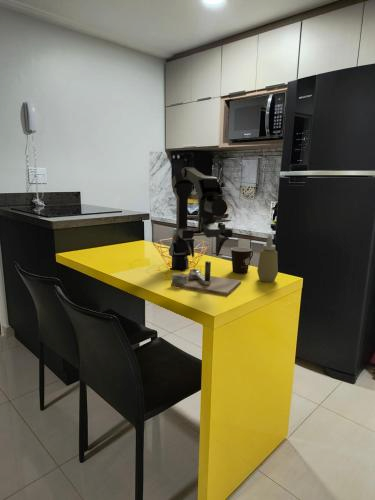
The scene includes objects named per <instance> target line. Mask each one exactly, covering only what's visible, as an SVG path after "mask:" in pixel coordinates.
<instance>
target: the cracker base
mask: <svg viewBox="0 0 375 500" xmlns="http://www.w3.org/2000/svg"><path fill="white" fill-rule="evenodd" d="M185 274H186V275H181V273H173V274H172V275H171V283H170V286H171V287H173V288H180V289H185V290H191V291H197V292H200V293H201V292H202V293H206V294H207V293H208V294H213V295H219V296H225V297H228V296H229V295H231V293H233V291H235V290H236V289H237V288H238V287H239V286H240V285H241V284H242V280H239V279H233V278H226V277H221V276H220V277H219V276H214V275H210V280H211V284H209V285H204V284H203V283H202V282H200V281H199V280H198V279H191V278H190V272H188V273H185ZM203 275H204V276H205V274H203Z"/></svg>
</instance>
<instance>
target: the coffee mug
mask: <svg viewBox="0 0 375 500" xmlns="http://www.w3.org/2000/svg"><path fill="white" fill-rule="evenodd" d="M230 251H231V265H232V266H231V267H232V273H234V274H237V275H246V274H248V272H249V266H250V261H251V260H252V258H253V255H254V251H253V250H252V249H251V248H249V247H244V246H243V247H242V246H240V247H239V246H236V247H231V248H230Z"/></svg>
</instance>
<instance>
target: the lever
mask: <svg viewBox="0 0 375 500" xmlns="http://www.w3.org/2000/svg"><path fill="white" fill-rule="evenodd" d="M204 263H205V265H204V274H202V271H201V270H200V269H197V268H193V269H190V270H189V273H190V278H191V279H198V280H199V281H200V282H202V283H203V284H204V285H209V284H211V280H210V276H211V269H212V268H211V266H212V263H211V261H209V260H207V261H206V260H205V261H204ZM204 275H205V276H204Z"/></svg>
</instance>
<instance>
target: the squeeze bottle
mask: <svg viewBox="0 0 375 500" xmlns="http://www.w3.org/2000/svg"><path fill="white" fill-rule="evenodd" d="M278 260H279V259H278V251H277V250H276V245H275V244H274V243H273V237H272V235H268V237H267V240H266V243H265V244H263V246H262V249H261V250H260V252H259V259H258V264H257V270H256V271H257V275H258V279H259V281H260V282H264V283H274V282H275V281H276V278H277V276H278V273H279V269H278V268H279V267H278V265H279V263H278V262H279V261H278Z"/></svg>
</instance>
